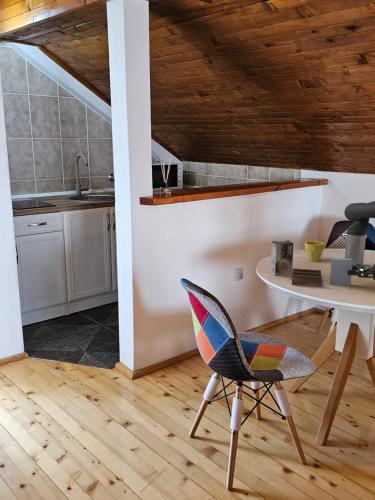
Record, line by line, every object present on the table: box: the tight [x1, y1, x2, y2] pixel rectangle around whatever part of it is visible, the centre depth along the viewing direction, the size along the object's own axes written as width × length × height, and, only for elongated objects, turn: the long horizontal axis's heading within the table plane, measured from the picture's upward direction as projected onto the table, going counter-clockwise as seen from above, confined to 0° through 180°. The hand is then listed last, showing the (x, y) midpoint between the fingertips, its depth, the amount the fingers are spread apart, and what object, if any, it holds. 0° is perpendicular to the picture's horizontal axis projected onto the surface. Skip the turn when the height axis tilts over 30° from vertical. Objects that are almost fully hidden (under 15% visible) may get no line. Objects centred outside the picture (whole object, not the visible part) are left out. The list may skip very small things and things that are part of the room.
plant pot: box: [304, 240, 326, 263], centre depth 257 cm, size 10×10×10 cm
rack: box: [291, 268, 323, 287], centre depth 219 cm, size 11×13×4 cm
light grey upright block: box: [329, 257, 353, 287], centre depth 214 cm, size 3×9×12 cm, turn 76°
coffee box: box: [270, 239, 294, 277], centre depth 231 cm, size 9×6×16 cm
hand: (346, 269), depth 214 cm, fingers open, 8 cm apart
